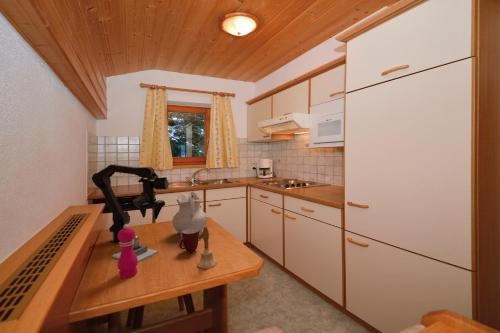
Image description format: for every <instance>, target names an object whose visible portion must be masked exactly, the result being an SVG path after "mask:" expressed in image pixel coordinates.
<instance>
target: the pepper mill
mask: <svg viewBox="0 0 500 333" xmlns="http://www.w3.org/2000/svg"><path fill="white" fill-rule="evenodd" d="M129 226H130V225H129V224H128V225H127V224H125V225H124V226H123V228H124V229H122V230H120V231H119V233H118V239H119V240H120V242H119V243H118V244H119V246H120V252H121V255H120V258H119V259H117V265H116V266H117V267H116V268H117V269H118V270H119V271H118V272H119V273H118V276H119V278H121V279H131V278H132V277H135V276H136V275H137V274H138V268H137V266H138V265H139V263H138V259H137V256H136V255H135V253H134V250H133V244H134V239H133V238H134V236H135V235H136V231H135V230H134V229H133V228H132V227H129Z"/></svg>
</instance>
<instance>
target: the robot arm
mask: <svg viewBox="0 0 500 333" xmlns="http://www.w3.org/2000/svg"><path fill="white" fill-rule="evenodd" d="M115 173H121V174H128V175H134V176H136V177H139V178H140V179H139V180H138V181H137V182H138V183H141V184H142V185H141V186H142V192H140V195H139V196H137V197H136V198H134V199H133V200H132V204H133V206H135V207H136V208H138V210H139V212H140V214H141V216H142V218H145V217H146V215H147V207H148V205H150V206H151V209H152V210H153V218H154V220H157V219H158V217H159V214H160V212H161V211H162V209H163V208H164V207H165V206H166V202H165V200H162V199H161V200H160V199H159V200H157V198H155V194H156V193H157V191H160V190H164V191H166V190H168V189H169V184H170V183H169V180H168V177H167V176H164V177H163V176H162V177H159V176H158V174H157V173H156V171H155V169H154V168H153V167H151V166H142V167H136V166H127V165H121V164H120V165H119V164H116V163H115V164H114V163H113V164H109V165H108V166H106V167H104V168H103V169H101V170H100V171H98V172H96V173H94V174H93V175H92V177H91V181H92V183H94V185H95V186H96V187H97V188H98V189H100V191H101V193H102V195H103V197H104V199H105V201H106V203H107V205H108V208H109V210H110V211H111V214H112V219H111V220H112V223H113V224H112V225H110V227H109V228H108V231H109V232H110V233H112V239H111V240H110V242H112V243H114V244H120V243H119V242H120V240H119V239H118V233H119V231H120V230H122V229H124V228H123V226H124V225H125V224H127V225H128V226H129V223H130V222H131V216H130V214H129V211H128V210H126V211H125V210H123V209H122V206H121V204H120V203H119V201H118V199H117V196H116V195H115V193H114V191H113V188H112V185H111V184H112V179H111V178H112V176H114V174H115Z"/></svg>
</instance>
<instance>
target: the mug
mask: <svg viewBox="0 0 500 333" xmlns="http://www.w3.org/2000/svg"><path fill="white" fill-rule="evenodd" d="M181 234H182V237H181V240H180V241H179V244H178V247H179V249H180V250H185V251H186V253H189V254H192V253H195V252H196V251H197V249H198V246H199V240H200V236H199V230H198V229H196V228H190V229H185V230H183V231H182V233H181Z"/></svg>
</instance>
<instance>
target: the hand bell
mask: <svg viewBox="0 0 500 333" xmlns="http://www.w3.org/2000/svg"><path fill="white" fill-rule="evenodd" d="M202 239H203V242H204V243H203V244H204V245H203V246H204V249H203V250H201V253H200V259H199V260H198V262H197V264H196V265H197V266H196V267H198V268H199V269H206V270H207V269H210V268H211V269H212V268H214V267H215V266H217V265H218V262H217V260H216V259H215V258H214V255H213V250H211V249H209V239H210V232H209V229H208V227H207V226H205V227H204V229H202Z"/></svg>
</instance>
